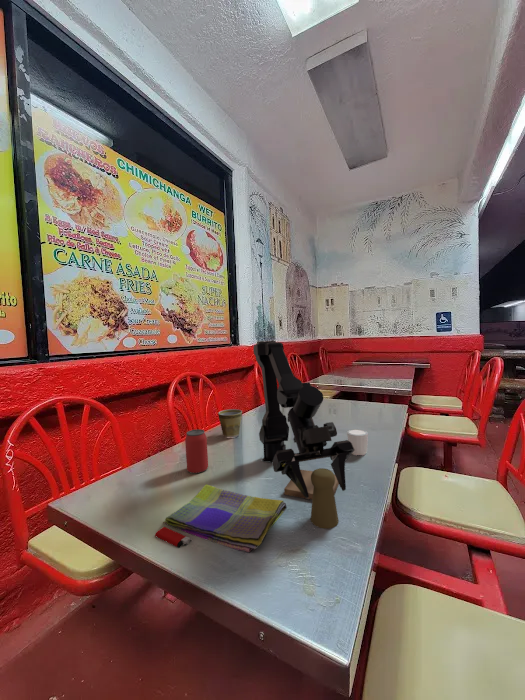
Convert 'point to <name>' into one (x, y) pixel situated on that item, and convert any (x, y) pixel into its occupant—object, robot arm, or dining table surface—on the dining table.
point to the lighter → (172, 537)
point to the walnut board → (294, 491)
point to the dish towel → (227, 517)
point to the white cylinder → (358, 441)
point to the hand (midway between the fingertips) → (326, 493)
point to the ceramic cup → (230, 422)
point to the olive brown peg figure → (323, 499)
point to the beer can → (196, 451)
